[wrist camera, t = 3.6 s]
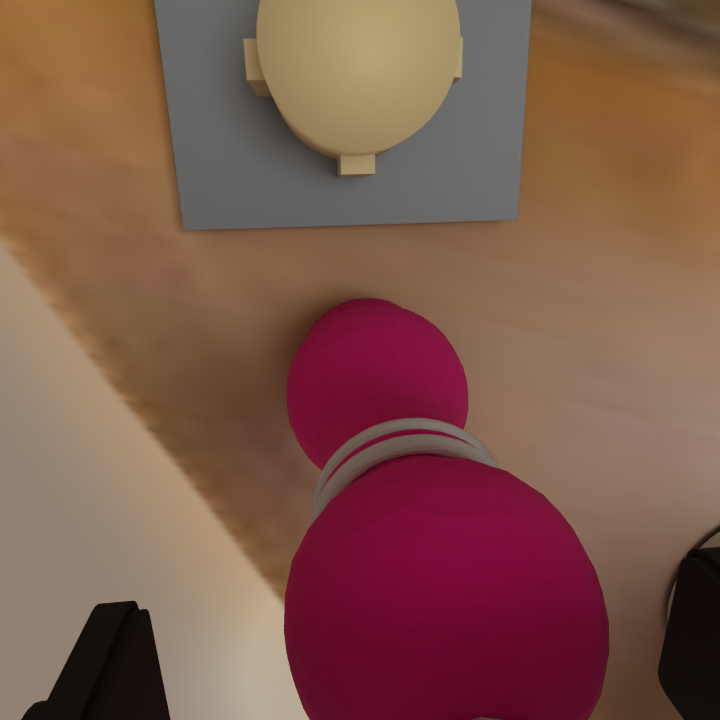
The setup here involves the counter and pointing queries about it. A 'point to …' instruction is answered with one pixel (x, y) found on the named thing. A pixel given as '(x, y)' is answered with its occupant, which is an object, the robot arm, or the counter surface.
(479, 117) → the plate
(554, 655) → the pepper mill
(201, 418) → the counter surface
